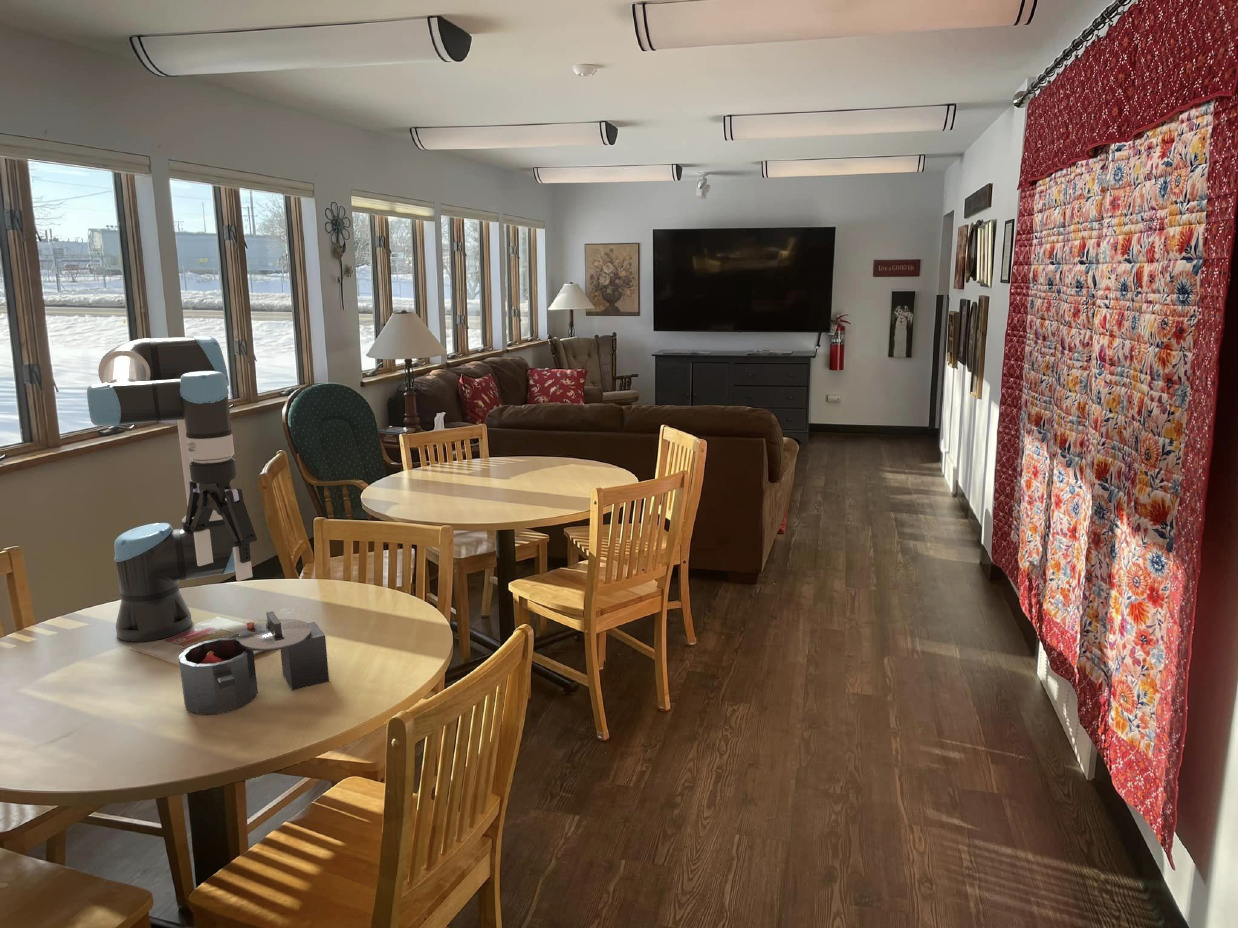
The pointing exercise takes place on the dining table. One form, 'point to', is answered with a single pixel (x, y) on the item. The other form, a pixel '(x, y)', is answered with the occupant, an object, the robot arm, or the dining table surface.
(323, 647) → the block
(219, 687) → the pot
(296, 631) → the lid
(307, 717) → the dining table surface
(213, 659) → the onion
